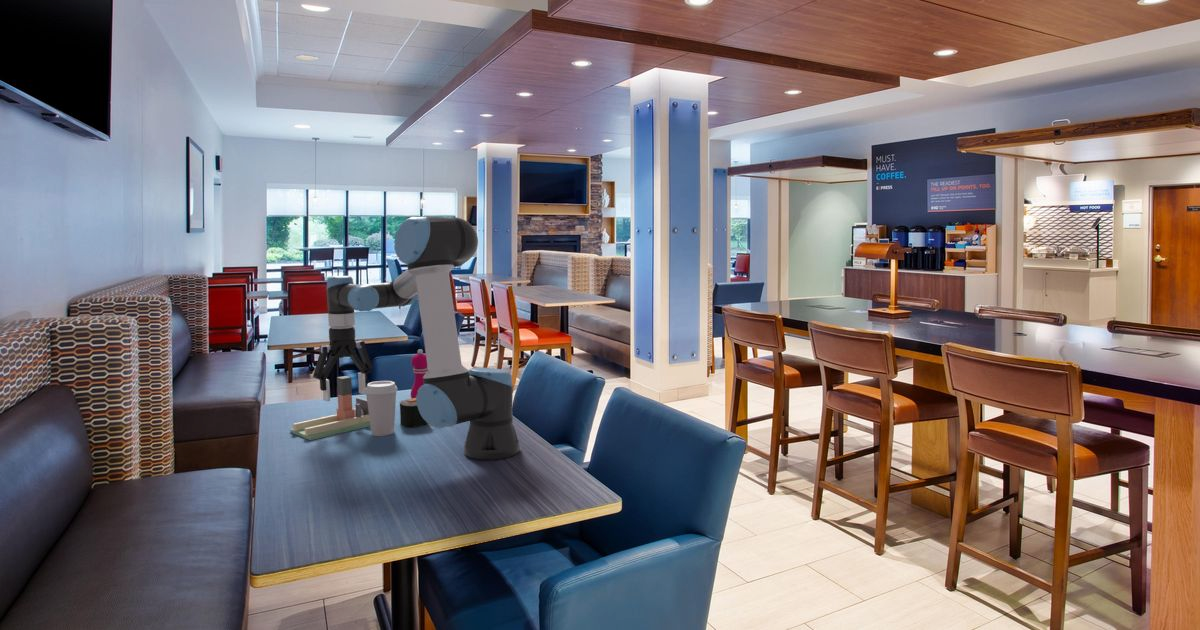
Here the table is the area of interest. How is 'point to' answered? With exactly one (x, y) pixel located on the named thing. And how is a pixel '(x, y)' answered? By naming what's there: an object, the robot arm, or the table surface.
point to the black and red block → (344, 398)
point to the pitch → (333, 423)
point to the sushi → (410, 414)
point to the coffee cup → (381, 406)
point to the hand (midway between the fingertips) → (344, 397)
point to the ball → (355, 412)
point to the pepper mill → (418, 371)
